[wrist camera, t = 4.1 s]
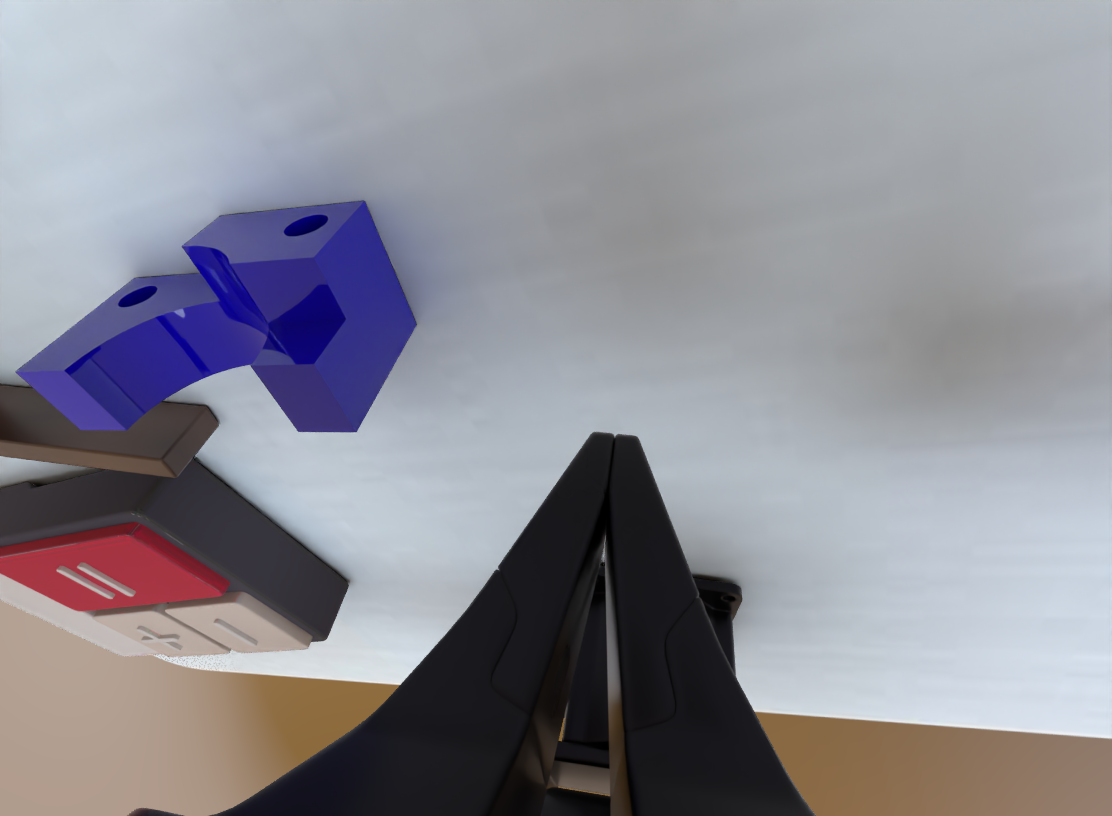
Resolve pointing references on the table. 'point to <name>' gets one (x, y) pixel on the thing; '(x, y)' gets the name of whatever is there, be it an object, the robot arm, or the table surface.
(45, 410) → the square wooden border
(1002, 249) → the table surface
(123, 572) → the calculator
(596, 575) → the robot arm
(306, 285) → the cable holder
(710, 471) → the table surface
